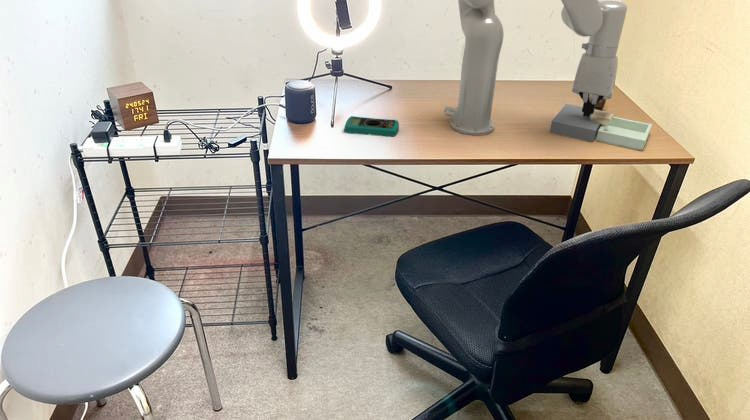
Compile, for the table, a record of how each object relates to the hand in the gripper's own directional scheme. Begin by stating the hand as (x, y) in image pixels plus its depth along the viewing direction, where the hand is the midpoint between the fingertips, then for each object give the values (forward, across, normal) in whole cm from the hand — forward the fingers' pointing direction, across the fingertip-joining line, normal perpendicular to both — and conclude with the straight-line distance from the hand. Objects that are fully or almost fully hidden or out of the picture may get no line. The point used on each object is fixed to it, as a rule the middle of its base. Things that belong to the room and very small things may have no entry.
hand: (586, 115), depth 157 cm
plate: (+4, -2, 0) cm, 5 cm away
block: (+1, +4, 0) cm, 4 cm away
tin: (+5, -2, +24) cm, 24 cm away
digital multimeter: (+5, -51, -33) cm, 61 cm away
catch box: (+4, +11, 0) cm, 12 cm away
